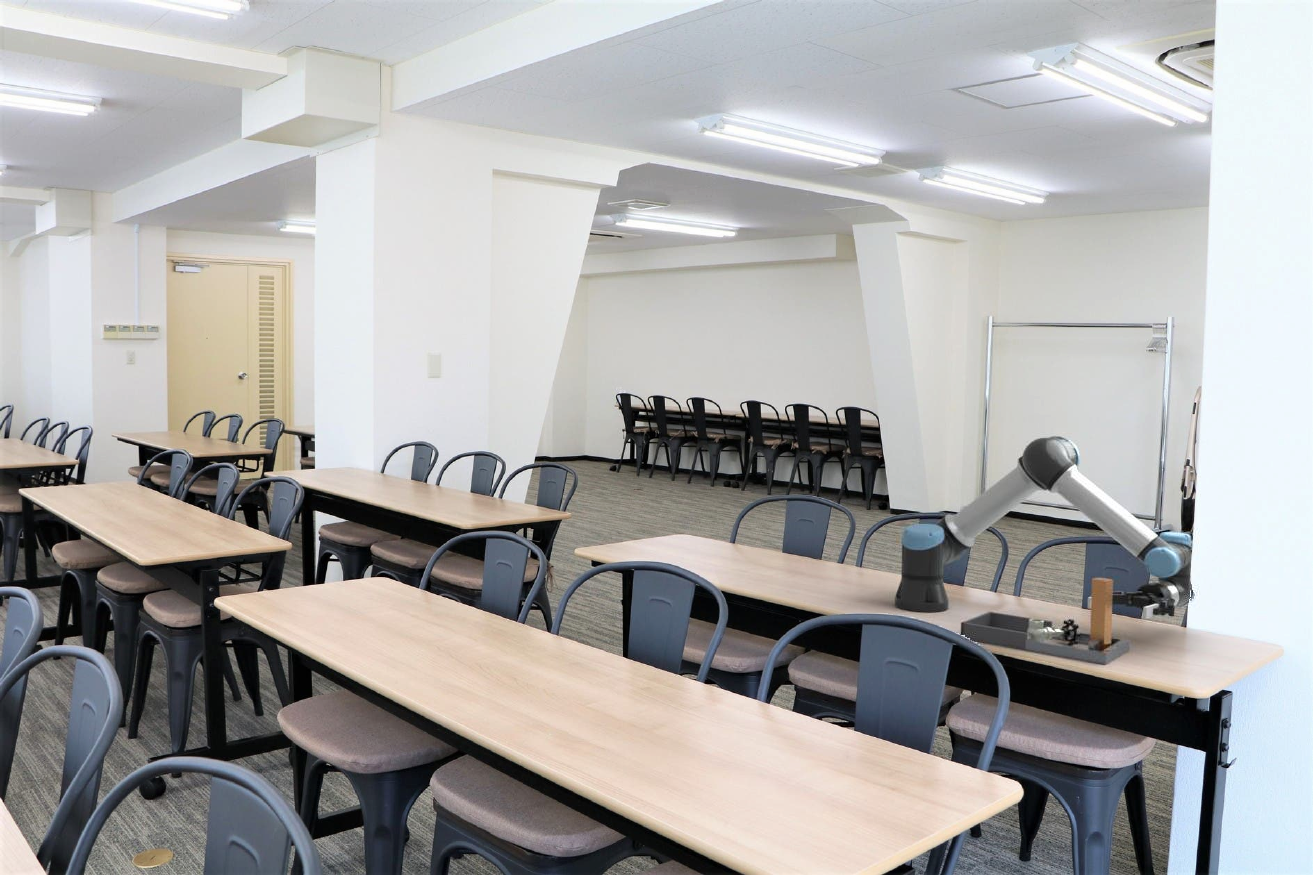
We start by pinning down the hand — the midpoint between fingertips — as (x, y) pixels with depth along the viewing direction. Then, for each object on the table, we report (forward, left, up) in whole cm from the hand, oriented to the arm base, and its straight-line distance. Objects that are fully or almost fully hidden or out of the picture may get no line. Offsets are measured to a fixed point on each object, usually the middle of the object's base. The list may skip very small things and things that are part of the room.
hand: (1116, 607), depth 239 cm
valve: (+6, -13, -11) cm, 18 cm away
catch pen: (+6, -24, -10) cm, 27 cm away
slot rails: (+6, -8, -10) cm, 14 cm away
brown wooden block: (+6, -2, -10) cm, 12 cm away
